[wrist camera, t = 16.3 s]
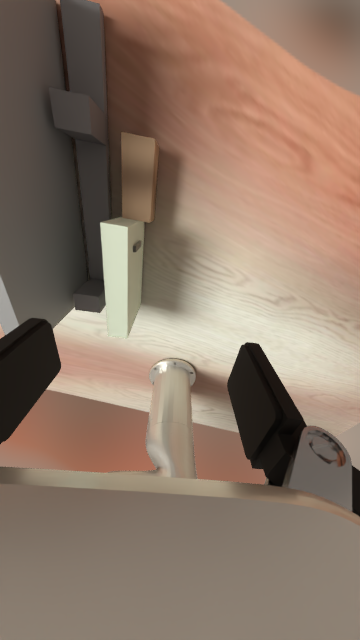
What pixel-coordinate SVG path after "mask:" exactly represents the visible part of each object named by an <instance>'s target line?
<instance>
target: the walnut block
mask: <svg viewBox="0 0 360 640" xmlns="http://www.w3.org/2000/svg"><path fill="white" fill-rule="evenodd" d="M158 160H159V146H158V144H157V142H156V139H155V138H150V137H145V136H140V135H136V134H131V133H126V132H121V166H122V218H126V219H132V220H137V221H143V222H149V223H150V222H152V221H153V220H154V217H155V203H156V188H157V174H158Z"/></svg>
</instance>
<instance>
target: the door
mask: <svg viewBox="0 0 360 640" xmlns="http://www.w3.org/2000/svg"><path fill="white" fill-rule="evenodd" d="M144 223H145V222H143V221H137V220H132V219H126V218H122V216H121V217H118V218H114V219H111V220H107V221H103V222H100V227H101V242H102V257H103V271H104V286H105V301H106V315H107V330H108V336H109V337H118V338H126V339H127V338H128V336H129V333H130V331H131V328H132V325H133V323H134V320H135V318H136V315H137V312H138V310H139V307H140V305H141V289H142V267H143V245H144Z"/></svg>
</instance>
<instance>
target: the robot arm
mask: <svg viewBox="0 0 360 640" xmlns="http://www.w3.org/2000/svg"><path fill="white" fill-rule="evenodd" d="M60 369H61V362H60V358H59V354H58V350H57V346H56V342H55V338H54V333H53V329H52V325H51V324H50V323H48V321H47V320H46V319H40V318H30V319H28V320H27V321H25V322H24V323H22V324H21V325H19V326H18V327H17V328H15V329H14V330H12V331H11V332H9V333H8V334H7V335H5V336H4V337H2V338H1V339H0V444H1V443H2V442H3V441H6V440H7V439H8V438H9V437H10V436H11V434H12V433H13V432H14V431H15V429H16V428H17V427H18V425H19V424H20V423H21V421H22V420H23V419H24V417H25V416H26V415H27V413H28V412H29V411H30V409H31V408H32V407H33V406H34V404H35V403H36V402H37V400H38V399H39V398H40V396H41V395H42V394H43V392H44V391H45V390H46V388H47V387H48V386H49V385H50V383H51V382H52V381H53V379H54V378H55V377H56V375H57V374H58V373H59V371H60ZM149 378H150V381H151V383H152V384H153V385H154V386H153V393H152V400H151V406H150V413H149V420H148V427H147V434H146V448H147V452H148V455H149V457H150V459H151V460H152V462H153V464H154V466H155V467H156V470H153V471H112V472H108V473H96V472H80V471H65V470H49V469H32V468H15V467H0V640H360V471H359V470H358V469H356V468H355V467H353V466H352V463H351V458H350V456H349V454H348V452H347V450H346V449H345V447H344V446H343V445H342V443H341V442H339V440H338V439H337V438H335V437H334V436H333V435H332V434H330V433H329V432H328V431H326V430H324V429H322V428H319V427H316V426H307V425H306V424H305V422H304V419H303V417H302V416H301V414H300V412H299V411H298V409H297V407H296V406H295V404H294V402H293V401H292V399H291V397H290V396H289V394H288V392H287V391H286V389H285V387H284V385H283V384H282V382H281V380H280V379H279V377H278V375H277V374H276V372H275V370H274V369H273V367H272V365H271V364H270V362H269V360H268V358H267V357H266V355H265V353H264V352H263V350H262V348H261V347H260V345H259V344H257V343H248V342H247V343H245V345H242V346H241V348H240V350H239V353H238V356H237V358H236V361H235V364H234V366H233V369H232V372H231V374H230V377H229V380H228V383H227V387H228V392H229V395H230V399H231V403H232V407H233V410H234V414H235V418H236V422H237V425H238V429H239V433H240V437H241V440H242V444H243V447H244V451H245V455H246V457H247V459H249V460H250V461H251V465H252V468H255V469H263V470H264V472H265V476H266V477H267V478H266V481H265V484H264V485H261V484H250V483H239V482H228V481H215V480H200V479H197V474H196V467H195V457H194V445H193V426H192V406H191V386H192V385H193V384H194V382H195V379H196V374H195V370H194V368H193V367H192V366H191V365H190V364H189V363H187V362H185V361H183V360H180V359H165V360H161V361H159V362H157V363H156V364H154V365H153V366H152V368H151V370H150V374H149Z"/></svg>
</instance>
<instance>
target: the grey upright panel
mask: <svg viewBox="0 0 360 640" xmlns="http://www.w3.org/2000/svg"><path fill="white" fill-rule="evenodd" d="M60 5H61V14H62V23H63V32H64V41H65V50H66V60H67V69H68V78H69V87H70V92H69V91H66V86H65V77H64V68H63V60H62V51H61V43H60V34H59V26H58V17H57V8H56V1H55V0H0V324H1V326H2V329H3V331H4V333H5V335H7V334H8V333H9V332H11V331H12V330H14V329H15V328H17V327H18V326H19V325H21V324H22V323H24V322H25V321H27V320H28V319H30V318H40V319H46V320H47V321H48V323H50V324H51V325H52V329H53V328H54V327H55V326H56V325H57V324H58V323H59V322H60V321H61V320H62V319H63V318H64V317H65V316H66V315H67V314H68V313H69V312H70V311H71V310H72V309H73V308H74V307H75V309H76V310H82V311H89V312H97V313H100V312H101V311H102V310H103V308H104V307H105V305H106V301H105V286H104V271H103V257H102V242H101V227H100V222H103V221H107V220H111V194H110V168H109V143H108V117H107V91H106V65H105V40H104V14H103V11H102V9H101V6H100V4H99V3H95V2H91V1H87V0H60ZM72 138H74V139H75V142H76V151H77V160H78V170H79V179H80V188H81V197H82V206H83V215H84V225H85V234H86V243H87V252H88V261H89V270H90V279H89V280H88V275H87V266H86V257H85V249H84V240H83V232H82V223H81V214H80V206H79V197H78V189H77V180H76V172H75V163H74V154H73V146H72Z"/></svg>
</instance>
